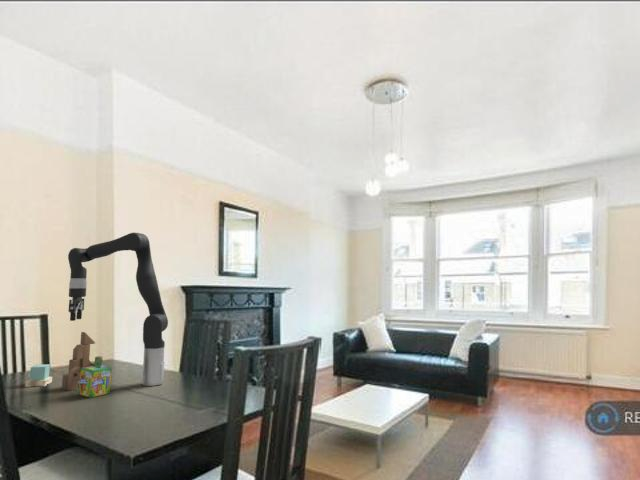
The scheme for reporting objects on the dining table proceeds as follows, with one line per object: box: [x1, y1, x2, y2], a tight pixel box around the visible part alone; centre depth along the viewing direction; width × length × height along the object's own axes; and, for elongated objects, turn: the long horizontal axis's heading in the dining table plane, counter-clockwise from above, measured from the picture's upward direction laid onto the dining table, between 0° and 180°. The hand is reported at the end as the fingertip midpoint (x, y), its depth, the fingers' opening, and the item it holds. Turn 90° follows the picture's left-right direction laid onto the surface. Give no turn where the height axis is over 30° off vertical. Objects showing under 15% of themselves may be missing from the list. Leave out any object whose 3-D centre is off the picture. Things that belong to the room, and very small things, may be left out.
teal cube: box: [29, 363, 51, 380], centre depth 194 cm, size 6×6×6 cm
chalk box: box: [78, 359, 113, 399], centre depth 179 cm, size 9×9×15 cm
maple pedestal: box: [24, 376, 53, 388], centre depth 194 cm, size 8×8×3 cm
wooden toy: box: [61, 331, 103, 391], centre depth 192 cm, size 16×7×25 cm, turn 154°
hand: (75, 319), depth 206 cm, fingers open, 8 cm apart
